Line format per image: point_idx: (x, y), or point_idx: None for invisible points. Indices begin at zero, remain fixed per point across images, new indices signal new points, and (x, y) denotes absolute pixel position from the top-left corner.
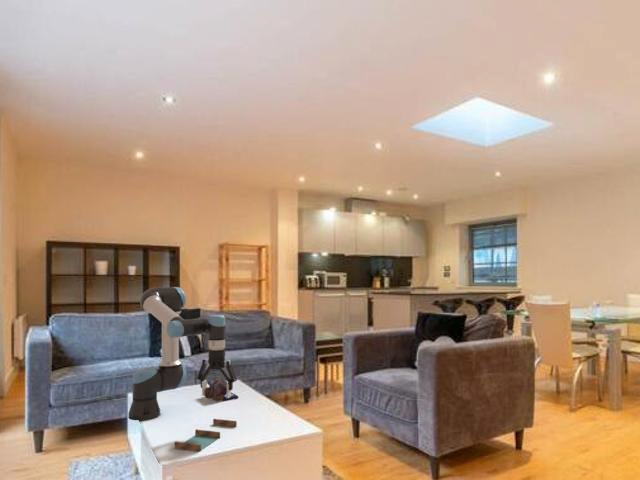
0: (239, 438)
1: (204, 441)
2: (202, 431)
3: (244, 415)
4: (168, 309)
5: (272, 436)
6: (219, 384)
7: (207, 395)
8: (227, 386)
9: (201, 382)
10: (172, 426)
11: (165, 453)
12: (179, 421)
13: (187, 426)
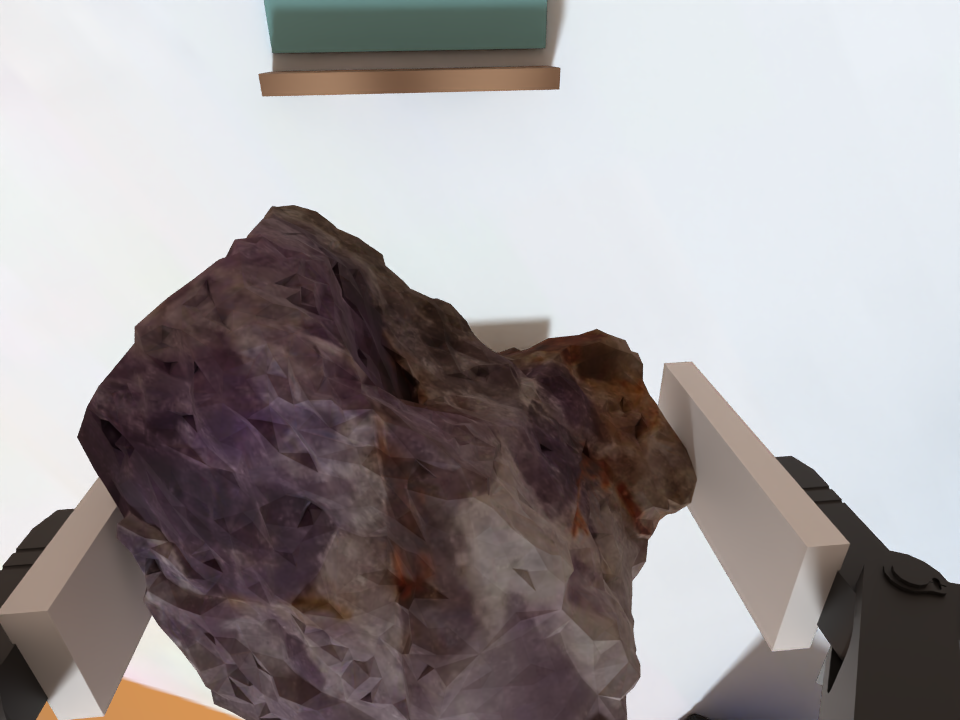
0: (83, 141)
1: None
2: (470, 70)
3: None
4: None
5: None
6: (268, 534)
7: (577, 361)
8: (67, 548)
9: (853, 538)
10: (865, 217)
11: None
12: (847, 335)
13: (733, 259)
